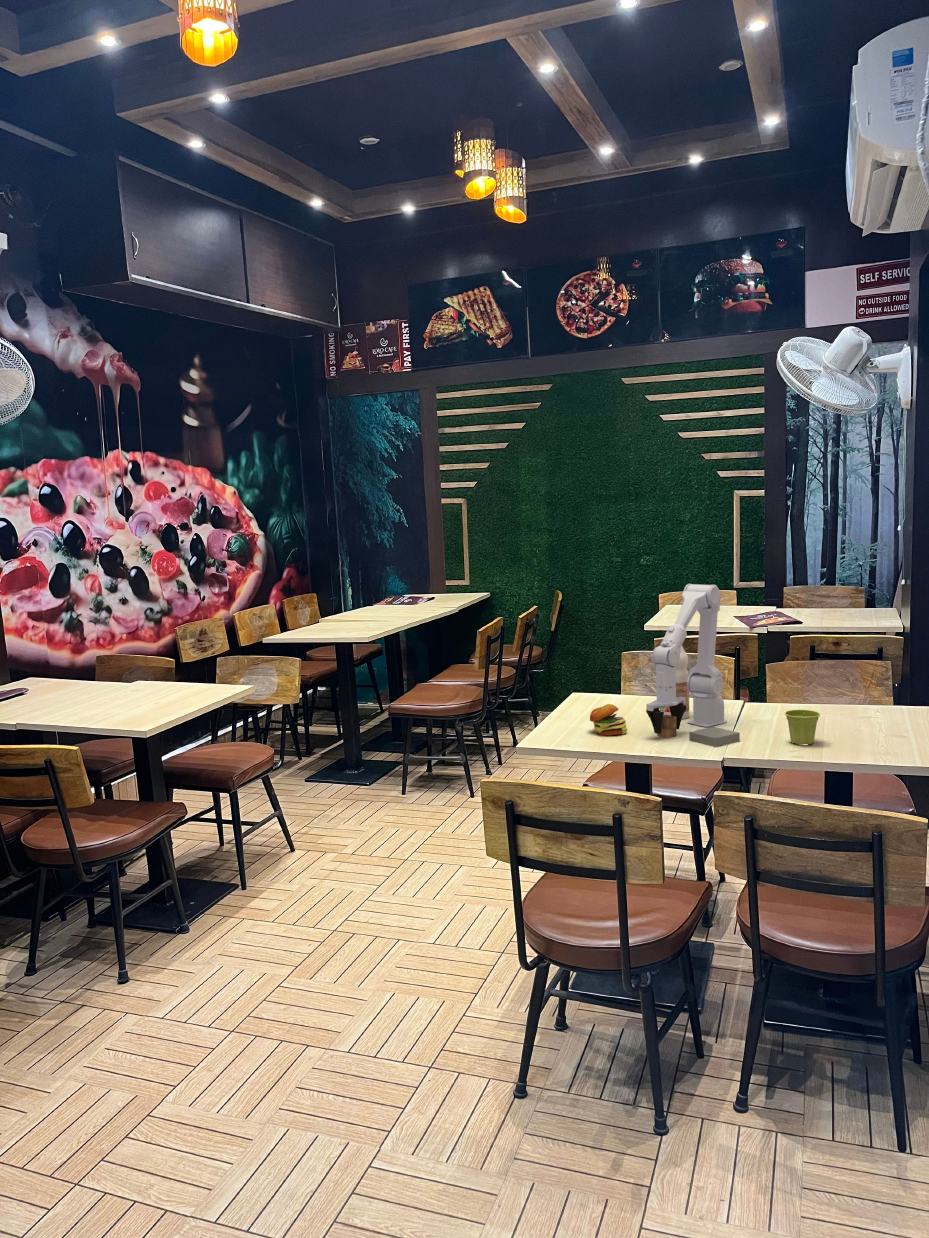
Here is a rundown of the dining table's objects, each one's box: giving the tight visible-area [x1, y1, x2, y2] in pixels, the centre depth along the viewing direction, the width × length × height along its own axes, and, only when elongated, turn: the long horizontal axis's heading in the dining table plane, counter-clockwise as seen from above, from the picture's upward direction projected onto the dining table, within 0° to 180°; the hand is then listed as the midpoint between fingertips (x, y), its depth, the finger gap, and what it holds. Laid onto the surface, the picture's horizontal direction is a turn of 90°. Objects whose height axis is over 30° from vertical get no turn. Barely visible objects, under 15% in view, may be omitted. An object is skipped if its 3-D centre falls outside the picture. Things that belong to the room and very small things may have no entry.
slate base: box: [688, 726, 741, 748], centre depth 261 cm, size 10×10×3 cm
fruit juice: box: [659, 645, 690, 720], centre depth 291 cm, size 9×9×28 cm
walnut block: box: [656, 715, 678, 740], centre depth 268 cm, size 4×4×6 cm
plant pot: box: [784, 709, 821, 745], centre depth 254 cm, size 9×9×9 cm
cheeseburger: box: [589, 703, 628, 737], centre depth 275 cm, size 10×11×10 cm
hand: (666, 730), depth 269 cm, fingers open, 7 cm apart
